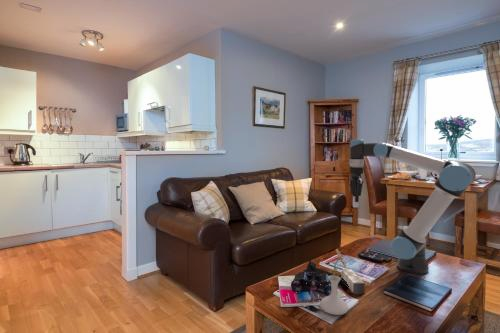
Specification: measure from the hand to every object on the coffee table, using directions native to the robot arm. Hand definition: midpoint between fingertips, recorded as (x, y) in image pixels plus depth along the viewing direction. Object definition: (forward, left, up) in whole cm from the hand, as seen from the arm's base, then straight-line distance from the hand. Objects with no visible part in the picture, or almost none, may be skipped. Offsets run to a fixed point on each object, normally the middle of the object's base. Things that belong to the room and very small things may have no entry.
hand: (355, 207), depth 166 cm
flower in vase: (+30, +46, -33) cm, 64 cm away
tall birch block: (+14, +35, -30) cm, 48 cm away
